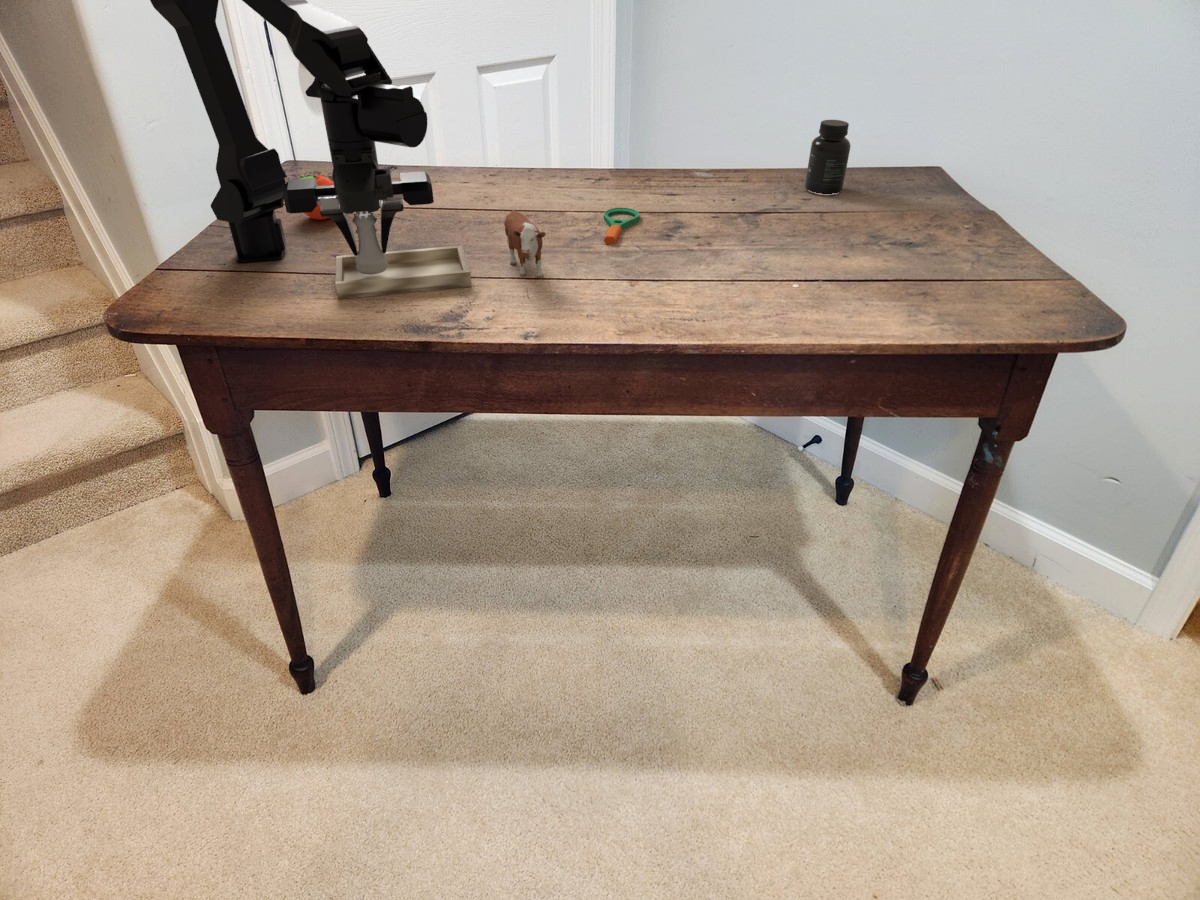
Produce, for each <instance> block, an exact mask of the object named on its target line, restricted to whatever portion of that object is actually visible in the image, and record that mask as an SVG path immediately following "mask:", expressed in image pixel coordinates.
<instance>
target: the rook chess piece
mask: <svg viewBox="0 0 1200 900" xmlns="http://www.w3.org/2000/svg"><path fill="white" fill-rule="evenodd" d="M377 221H378V217H376V216H375V215H374V212H368V211H363V212H354V213H353V219H352V221H351V222H352V223H353V224H354V225H355V226H356V229H355V233H356V234H357V237H358V238H357V239H358V250H357V254H358V255H357V256H356V261H355V262H356V263H357V265H356V269H357V270H358V271H359V272H360V273H363V274H369V275H370V274H378V273H381V272H384V271H385V270H386V269H387V267H388V263H387V262H386V260H387V257H386V255H385V254H383V252H382V247H381V245H379V244H380V243H379V241H378V237H377V231H378V229H377V228H376V226H375V225H376V223H377Z"/></svg>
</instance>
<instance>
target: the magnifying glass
mask: <svg viewBox="0 0 1200 900" xmlns="http://www.w3.org/2000/svg"><path fill="white" fill-rule="evenodd" d="M615 215H628V216H632V217H633V218H632V217H631V218H627V219H617V218H612V217H611V216H615ZM603 221H604V222H605V223H606V224H607V226H608V227H609V229H608V231H607V233H606V234H605V236H604V238H603V241H604V244H605V245H611V244H614V245H615V244H617V241H618V238H619V237H620V234H621V232H622V230H624V229H628V228H629V227H631V226H633V225H635V224H637V223H638V222H639V221H640V212H639V211H638V210H636V209H634V208H629V207H614V208H610V209H607V210H606V211H605V212H603Z"/></svg>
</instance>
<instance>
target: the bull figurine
mask: <svg viewBox="0 0 1200 900" xmlns="http://www.w3.org/2000/svg"><path fill="white" fill-rule="evenodd" d="M504 219H505V220H504V222H503V225H504V232H505V236H506V237H507V240H506V241H507V245H508V249H509V252H510V257H509V264H510V266H511V265H512V266H516V265H517V263H518V262H517V258H516V255H515V250H516V252H517V256H518V259H519V264H520V268H519V276H521V277H525V276H527V271H526V260H528V262H530V263H532V262H533V261H535V266H536V277H537V278H539V279H542V278H545V276H544V273H543V269H542V248H543V244H544V243H543V238H544V237H545V236H546V235H547V233H546V232H545V231H540V230H539V228H538V227H537V226H536V225H534V223H532V222H531V220H530V219H529V218H528V217H526V216H525V214H523V213H521V212H519V211H517V210H516V209H513V210H511V212H510V213H508V214H507V215H506V217H505V218H504ZM534 259H535V260H534Z"/></svg>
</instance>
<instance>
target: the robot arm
mask: <svg viewBox="0 0 1200 900" xmlns="http://www.w3.org/2000/svg"><path fill="white" fill-rule="evenodd" d="M149 1H150V3H151V6H152V7H153V8H154V10H156V11H157V12H158V14H160V16H162V17H163V18H164V19H165V20H166V21H167V23H169V24H170V26H172V27H173V29H174V31H175V32H176V34H177V37H178V40H179V43H180V45H181V47H182V50H183V53H184V55H185V58H186V61H187V64H188V66H189V69H190V72H191V75H192V77H193V80H194V82H195V85H196V88H197V90H198V93H199V96H200V98H201V101H202V103H203V106H204V109H205V112H206V114H207V117H208V119H209V122H210V125H211V128H212V129H213V132H214V135H215V136H214V137H216V140H217V144H218V151H217V157H216V162H215V163H216V164H215V171H216V176H217V179H218V182H219V189H218V191H217V193H216V195H215V197H214V198H213V200H212V201H211V203H210V208H211V210H212V212H213V214H214V215H215V218H216V219H217V220H218V221H222V222H226V223H228V226H229V230H230V233H231V237H232V241H233V245H234V248H235V251H236V252H235V253H236V255H235V263H248V262H249V263H250V262H261V261H272V260H273V261H274V260H275V261H276V260H281V259H283V256H284V251H286V249H287V239H286V237H285V231H284V228H283V222H282V219H280V218H277V216H276V211H275V210H278V209H282V208H284V206H285V212H286V213H288V214H292V215H293V214H305V213H307V212H312V211H313V210H314V209H315V208H316V206H317V202H318V205H320V215H321V216H322V217H329V218H328V219H331V221H333V222H334V224H335V225H336V226H337V228H338V230H339V231H340V232H341V235H342V236H343V238H344V239H345V241H346V244H347V245H348V246H349V249H350V250H351V252H352V255H354V256H357V252H358V248H357V242H356V238H355V234H354V231H353V228H352V224H351V220H350V217H349V214H354V213H356V212H360V213H362V212H363V211H366V212H367V213H368V212H373V213H375V212H378V211H380V212H379V213H380V244H381V245H380V247H381V250H382V252H383V254H384V253H386V252H387V248H388V243H389V237H390V231H391V227H392V224H393V222H394V221H393V220H394V218H395V216H396V214H397V213H401V212H403V211H404V210H405V209H404V202H405V203H407V204H408V205H409V206H423V205H431V204H434V202H435V201H434V194H433V193H434V192H433V191H434V190H433V185H432V180H431V178H430V175H429V174H428V173H427V172H426V171H410V172H399V179H400V180H397V181H392V175H391V169H390V168H389V167H387V168H385V167H384V168H379V167H380V166H379V161H378V154H377V148H376V147H377V146H376V142H377V143H383V144H387V145H388V144H389V145H393V146H399V147H406V148H417V147H418V146H420V145H421V144H422V142H423V141H424V139H425V137H426V134H427V130H428V114H427V112H426V111H425V108H424V105H423V104H422V102H421V101H420V100H419V98H416V97H415V96H414V91H413V87H412V86H411V85H405V84H403V85H401V84H400V85H392V84H393V80H392V78H391V77H390V75H389V73H388V72H387V70H386V68H385V67H384V66H383V65H382V63H381V61H380V60H379V59H378V57H377V55H376V53H375V52H374V51H373V48H372V46H370V44H369V43H368V42H369V39H368V37H367V35H366V33H365V32H364V31H363V30H362V29H361V28H360V27H359V26H358V25H356V24H354V23H353V22H351V21H349V20H347V19H345V18H344V17H342V16H341V15H339V14H336V13H334V12H331V11H328V10H325V9H323V8H320V7H317V6H315V5H314V4H312V3H311V2H308V1H307V0H241V1H242V2H243V3H245V4H246V5H247V6H248V7H249V8H251V9H252V10H253V11H254V12H255V13H257V14H258V15H259V16H260V17H261V18H263V19H264V20H265V21H266V22H267V23H268V24H269V25H271V26H273V28H274V29H276V30H277V31H278V32H280V34H282V35H283V36H284V37H285V39H286V40H288V42H289V46H290V48H291V52H292V54H293V56H294V57H295V58H296V59H297V60H298V61H299V63H300V64H301V65H302V66H303V67H304V69H306V70H307V71H308V72H309V74H310V75H312V77H313V78H314V80H313V81H312V83H311V85H309V86H308V87H307V88H306V90H305V95H306V96H307V97H310V98H317V99H320V104H321V110H322V115H323V120H324V126H325V131H326V135H327V136H326V137H327V143H328V147H329V153H330V159H331V163H332V175H331V176H332V177H331V178H332V182H333V183H334V185H329V186H318V185H317V181H316V178H307V179H300V178H292V179H291V178H290V179H288V180H287V182H286V178H287V177H288V175H287V174H286V171H284V169H283V167H282V166H283V165H282V163H281V159H280V155H279V153H278V151H277V150H276V148H269V149H268V148H267V147H266V145H264V144H263V143H262V142H261V141H260V140H259V139H258V138H257V136H256V133H255V131H254V128H253V125H252V123H251V119H250V117H249V113H248V111H247V108H246V105H245V103H244V100H243V97H242V94H241V91H240V88H239V85H238V82H237V79H236V78H235V77H236V76H235V75H234V72H233V68H232V65H231V63H230V60H229V58H228V53H227V51H226V49H225V46H224V43H223V39H222V38H221V35H220V31H219V28H218V26H217V23H216V22H217V21H216V20H217V14H218V7H219V1H220V0H149ZM362 74H363V75H362ZM360 75H361V76H360ZM354 76H357V77H354ZM351 77H353V78H351ZM347 78H348V79H347Z"/></svg>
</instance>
